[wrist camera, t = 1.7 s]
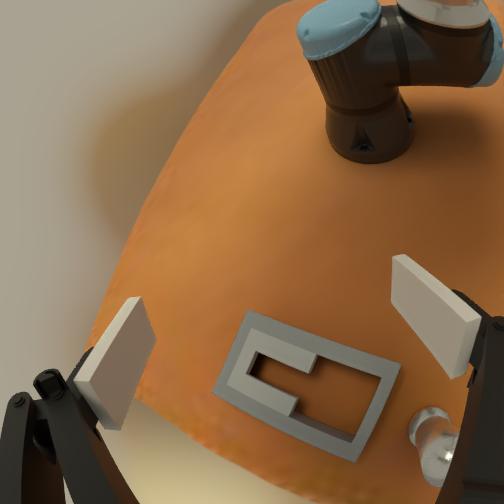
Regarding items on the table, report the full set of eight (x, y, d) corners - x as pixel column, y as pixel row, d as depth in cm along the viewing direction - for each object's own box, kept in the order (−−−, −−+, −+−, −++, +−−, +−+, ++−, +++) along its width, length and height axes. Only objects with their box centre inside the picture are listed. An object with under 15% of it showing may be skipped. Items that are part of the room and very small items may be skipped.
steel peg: (438, 398, 27) (468, 415, 14) (453, 430, 24) (490, 466, 11) (401, 420, 28) (405, 455, 15) (417, 452, 25) (428, 504, 12)
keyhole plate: (400, 364, 30) (401, 364, 27) (359, 454, 28) (355, 463, 25) (261, 315, 41) (247, 309, 38) (227, 392, 39) (211, 392, 36)
